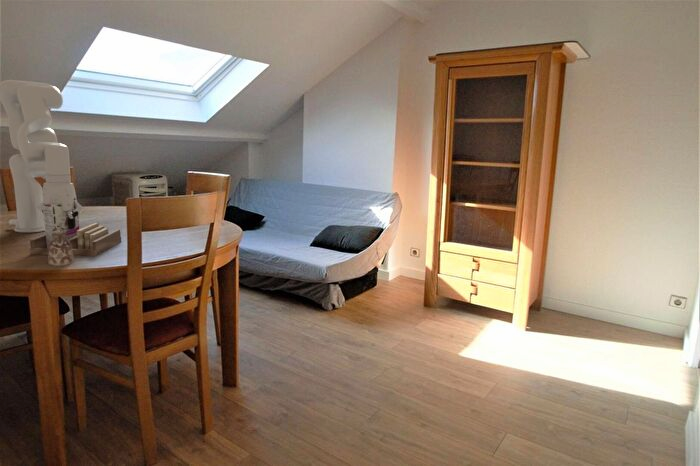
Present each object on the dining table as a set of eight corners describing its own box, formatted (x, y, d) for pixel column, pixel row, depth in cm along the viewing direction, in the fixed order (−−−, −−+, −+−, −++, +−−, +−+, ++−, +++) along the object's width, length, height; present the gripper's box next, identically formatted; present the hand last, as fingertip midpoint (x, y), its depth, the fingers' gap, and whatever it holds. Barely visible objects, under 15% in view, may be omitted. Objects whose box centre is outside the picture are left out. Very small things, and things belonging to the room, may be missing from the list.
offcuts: (78, 252, 166) (76, 230, 164) (96, 243, 180) (94, 222, 178) (94, 252, 167) (92, 230, 165) (110, 243, 180) (109, 223, 179)
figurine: (46, 266, 149) (43, 229, 146) (50, 260, 155) (47, 224, 153) (72, 264, 152) (69, 228, 149) (75, 259, 158) (72, 224, 156)
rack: (30, 254, 161) (28, 240, 160) (63, 239, 183) (62, 227, 182) (95, 256, 163) (95, 242, 162) (121, 241, 185) (120, 229, 184)
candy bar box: (69, 242, 178) (66, 200, 175) (81, 244, 177) (78, 201, 174) (45, 249, 167) (41, 204, 164) (57, 250, 167) (53, 205, 163)
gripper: (27, 179, 163) (31, 229, 166) (78, 181, 164) (82, 231, 168) (39, 177, 170) (43, 225, 174) (88, 179, 172) (91, 227, 175)
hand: (62, 227), depth 171 cm, fingers closed on candy bar box, 5 cm apart
